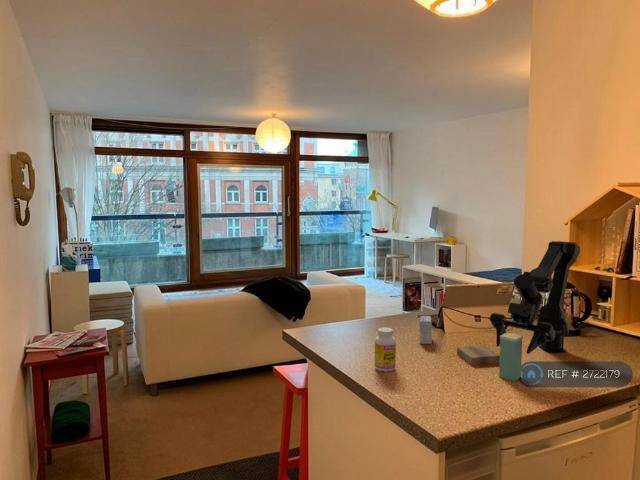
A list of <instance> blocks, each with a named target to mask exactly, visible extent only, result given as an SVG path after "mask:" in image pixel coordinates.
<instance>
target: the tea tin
mask: <svg viewBox="0 0 640 480" xmlns="http://www.w3.org/2000/svg"><path fill="white" fill-rule="evenodd" d="M523 338H524V335H520V334H516V333H512V332H507V331H506V333H505V334H503V335H501V336H500V346H499V355H500V363H499V369H498V370H499V378H502V379H505V380H508V381H512V382H516V381H517V380H519V379H520V378H521V377H522V361H523V360H522V359H523V352H522V351H523Z"/></svg>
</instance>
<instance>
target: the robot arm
mask: <svg viewBox="0 0 640 480" xmlns="http://www.w3.org/2000/svg"><path fill="white" fill-rule="evenodd" d="M547 246H548V247H547V249H546V251H545V253H544V255H543V257H542V259H541V261H540V262H539V264H538V266H537V267H535V268H533V269H532V270H530V271H524V272H523V274H519V275H517V276H516V277H515V278H514V279H513V285H514V287H515V290H516V292H517V294H518V296H520V298H521V300H520V303H518V302H517V303H515V302H509V305H508V308H507V313H508V314H510V318H511V319H512V320H511V319H507V318H506V316H505V314H501V313H498V312H497V313H496V312H493V313H491V314H490V315H489V318H488V320H489V321H490V323H491V325H492V326H493V328H494V329H495V331H496V347H499V348H500V336H501V335H503V334H505V333H507V331H506V330H507V329H508V327H511V328H515V329H520V330H526V331H530V332H533V333H532V337H531V339H530V341H529V344H528V346H527V348H526V354H527V355H529V354H531V353H532V352H533V351H534V350H536V349H537V348H538V347H539V348H540V349H542V350H544V351H546V352H547V353H550V352H553V353H561V352H560V351H566V352H567V349H566V348H564V345H565V342H564V341H565V337H566V336H567V337H568V336H569V330H570V327H569V324H568V322H567V321H568V320H566V318H567V317H566V316H567V314H566V312H565V311H564V308H563V304H564V300H565V294H566V288H567V284H568V279H569V274H570V270H571V267H572V266H573V265H574V264H575V263H576V262H577V260H578V256H579V255H580V253H581V247H580V246H581V245H578V243H577V242H576V241H562V240H557V241H556V240H555V241H554V240H553V241H549V242H548V245H547ZM542 293H543V294H548V293H549V295H548V299H547V303H546V304H545V305H544V297H543V295H542ZM541 305H542V306H541ZM539 310H540V311H539ZM538 312H539V314H538ZM536 320H537V321H536ZM535 321H536V324H534V323H535Z"/></svg>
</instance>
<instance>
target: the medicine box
mask: <svg viewBox="0 0 640 480" xmlns="http://www.w3.org/2000/svg"><path fill="white" fill-rule="evenodd" d="M432 323H433V322H432V316H431V315H419V325H418V326H419V329H418V330H419V344H420V345H421V344H422V345H423V344H424V345H432V343H433V339H432V338H433V336H432V335H433V334H432V332H433V331H432V329H433V328H432V326H433V324H432Z"/></svg>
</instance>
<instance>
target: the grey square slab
mask: <svg viewBox="0 0 640 480" xmlns="http://www.w3.org/2000/svg"><path fill="white" fill-rule="evenodd" d="M456 355H457V357H459V358H461V359H462V360H463V361H465V362H466V363H467V364H468V365H469V366H480V365H492V364H493V365H494V364H500V354H498V353H497V352H495V351H494V350H492V349H490V348H489V347H487V346H486V345H475V346H474V345H472V346H460V347H459V346H458V347H456Z"/></svg>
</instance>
